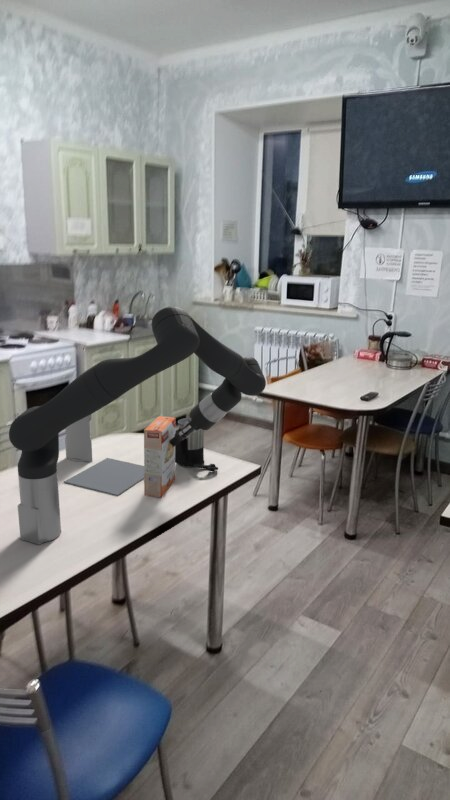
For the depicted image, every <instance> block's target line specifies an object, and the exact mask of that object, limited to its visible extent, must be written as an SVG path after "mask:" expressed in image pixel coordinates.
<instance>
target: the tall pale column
mask: <svg viewBox="0 0 450 800" xmlns="http://www.w3.org/2000/svg"><path fill="white" fill-rule="evenodd" d="M91 421H92V414H90V415H88V416H87V417H85V418H83V419H81V420H79V421H77V422H75V423H73V424H71V425H70V426H68V427H66V428H65V429H64V431H65V437H64V443H65V444H64V445H65V459H66V460H69V459H70V460H69V461H73V462H77V463H78V462H79V463H80V462H84V463H85V462H86V463H91V462H93V448H92V447H93V445H92V444H93V443H92V438H91Z"/></svg>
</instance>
